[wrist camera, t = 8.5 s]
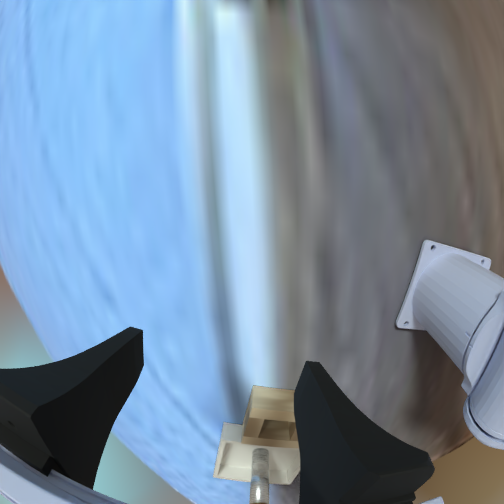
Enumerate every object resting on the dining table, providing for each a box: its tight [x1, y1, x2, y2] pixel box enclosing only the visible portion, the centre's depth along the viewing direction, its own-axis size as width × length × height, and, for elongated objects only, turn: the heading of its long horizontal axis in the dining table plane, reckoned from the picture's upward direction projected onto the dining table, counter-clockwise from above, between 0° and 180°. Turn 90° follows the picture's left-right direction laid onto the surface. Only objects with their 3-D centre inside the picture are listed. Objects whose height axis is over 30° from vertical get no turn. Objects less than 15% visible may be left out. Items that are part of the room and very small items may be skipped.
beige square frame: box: [241, 385, 299, 448], centre depth 24 cm, size 6×6×3 cm
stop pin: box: [250, 448, 269, 504], centre depth 23 cm, size 2×2×9 cm
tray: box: [213, 422, 300, 484], centre depth 26 cm, size 10×10×2 cm
